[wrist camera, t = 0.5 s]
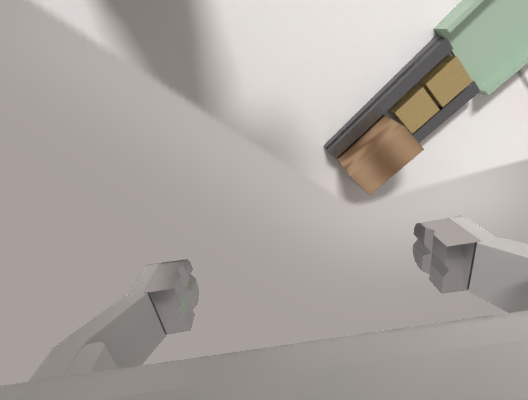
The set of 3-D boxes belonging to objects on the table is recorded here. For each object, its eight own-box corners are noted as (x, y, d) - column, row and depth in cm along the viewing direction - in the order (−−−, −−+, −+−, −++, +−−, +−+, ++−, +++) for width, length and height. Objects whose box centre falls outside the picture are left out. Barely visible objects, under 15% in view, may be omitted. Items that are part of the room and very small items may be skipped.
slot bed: (362, 182, 53) (367, 188, 51) (323, 145, 48) (327, 150, 46) (470, 89, 45) (481, 91, 43) (435, 36, 41) (445, 36, 39)
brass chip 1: (406, 130, 47) (412, 133, 45) (388, 109, 45) (394, 112, 43) (432, 107, 45) (439, 109, 43) (415, 84, 43) (422, 86, 41)
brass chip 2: (435, 104, 45) (442, 107, 43) (418, 82, 43) (425, 84, 41) (463, 79, 43) (472, 81, 41) (447, 54, 41) (456, 55, 39)
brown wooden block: (354, 175, 50) (369, 194, 44) (336, 158, 49) (349, 176, 43) (401, 134, 47) (424, 149, 41) (383, 114, 45) (405, 127, 39)
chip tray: (474, 92, 45) (488, 95, 43) (433, 28, 40) (446, 28, 38) (564, 15, 41) (586, 14, 38) (530, -67, 36) (552, -75, 33)
